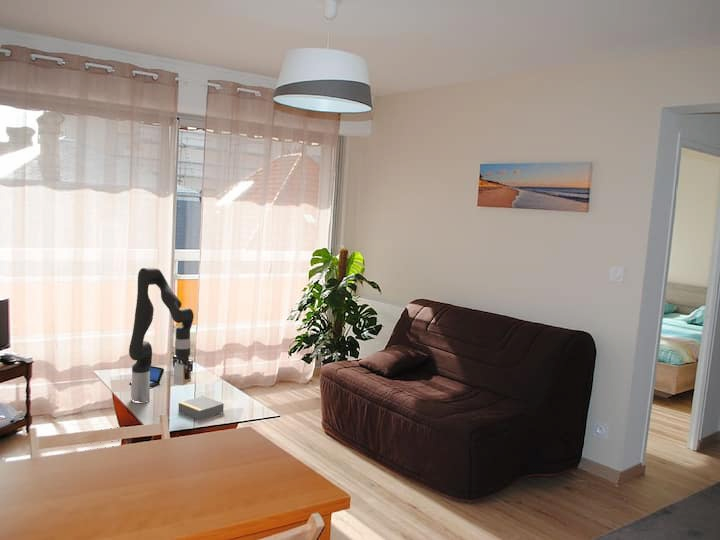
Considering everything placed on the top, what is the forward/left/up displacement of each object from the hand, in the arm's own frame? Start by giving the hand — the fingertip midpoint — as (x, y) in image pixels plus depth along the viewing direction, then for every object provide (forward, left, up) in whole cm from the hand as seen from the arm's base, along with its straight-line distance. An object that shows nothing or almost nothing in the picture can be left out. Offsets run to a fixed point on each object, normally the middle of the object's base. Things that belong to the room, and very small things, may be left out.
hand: (182, 377), depth 315 cm
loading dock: (+4, +9, -20) cm, 23 cm away
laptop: (-56, +17, -21) cm, 62 cm away
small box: (0, 0, -3) cm, 3 cm away
